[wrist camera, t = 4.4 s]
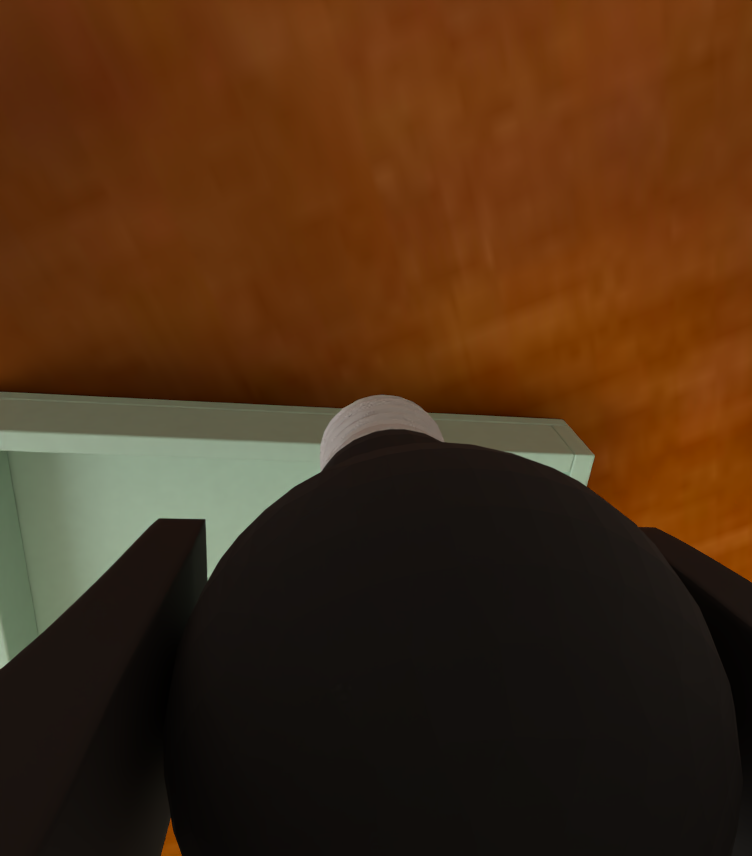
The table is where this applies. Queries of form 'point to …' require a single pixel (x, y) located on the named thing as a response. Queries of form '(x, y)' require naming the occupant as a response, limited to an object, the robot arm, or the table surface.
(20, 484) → the tray
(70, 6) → the table surface
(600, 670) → the light bulb
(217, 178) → the table surface
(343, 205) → the table surface
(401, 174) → the table surface
